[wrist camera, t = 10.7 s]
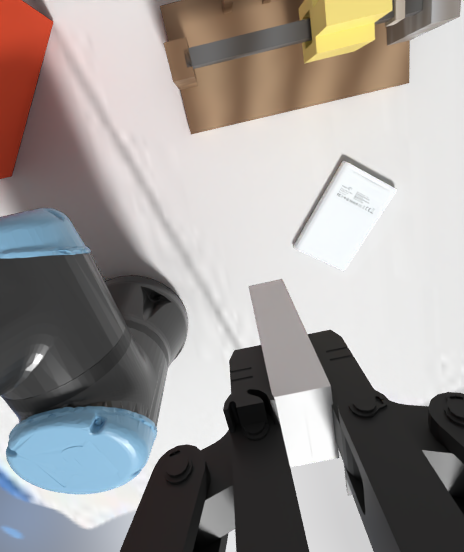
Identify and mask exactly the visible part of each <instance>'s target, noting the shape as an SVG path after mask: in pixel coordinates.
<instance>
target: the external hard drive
mask: <svg viewBox="0 0 464 552" xmlns="http://www.w3.org/2000/svg"><path fill="white" fill-rule="evenodd" d="M396 191H397V189H396V188H394V187H392V186H390V185H388V184H387V183H385V182H383V181H381V180H379V179H377V178H375V177H374V176H372V175H370V174H368V173H366V172H365V171H363V170H361V169H359V168H357V167H356V166H354V165H352V164H350V163H348V162H346V161H342V163H341V164H340V166H339V168H338V170H337V171H336V173H335V175H334V176H333V178H332V180H331V182H330V183H329V185H328V187H327V189H326V190H325V192H324V194H323V195H322V197H321V199H320V201H319V202H318V204H317V206H316V208H315V209H314V211H313V213H312V215H311V216H310V218H309V220H308V222H307V223H306V225H305V227H304V229H303V230H302V232H301V234H300V235H299V237H298V239H297V241H296V243H295V244H294V246H293V247H294V248H295V249H296V250H298V251H300V252H303V253H305V254H307V255H309V256H311V257H313V258H316V259H318V260H320V261H322V262H324V263H326V264H329V265H331V266H333V267H335V268H337V269H339V270H342V271H345V269H346V268H347V266H348V265H349V263H350V262H351V260H352V259H353V257H354V256H355V254H356V253H357V251H358V249H359V248H360V246H361V245H362V243H363V242H364V240H365V239H366V237H367V236H368V234H369V233H370V231H371V230H372V228H373V227H374V225H375V223H376V222H377V220H378V219H379V217H380V216H381V214H382V213H383V211H384V210H385V208H386V207H387V205H388V204H389V202H390V200H391V199H392V197H393V196H394V194H395V193H396Z"/></svg>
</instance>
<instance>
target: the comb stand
mask: <svg viewBox="0 0 464 552" xmlns="http://www.w3.org/2000/svg"><path fill="white" fill-rule="evenodd" d="M303 1H304V0H181V1H177V2H173V3H169V4H166V5H162V6H160V9H161V13H162V17H163V21H164V25H165V29H166V33H167V37H168V42H165V43H164V46H165V50H166V54H167V58H168V62H169V66H170V70H171V74H172V78H173V82H174V83H175V84H176V86H177V87H178V88H179V89H180V91H181V95H182V99H183V103H184V107H185V111H186V115H187V120H188V124H189V128H190V132H191V134H195V133H199V132H203V131H207V130H212V129H216V128H220V127H224V126H229V125H233V124H237V123H241V122H246V121H250V120H254V119H258V118H263V117H267V116H271V115H275V114H280V113H284V112H288V111H292V110H297V109H301V108H305V107H309V106H314V105H318V104H322V103H326V102H330V101H335V100H339V99H343V98H347V97H352V96H356V95H360V94H364V93H369V92H373V91H377V90H381V89H386V88H390V87H394V86H398V85H403V84H407V83H409V41H410V40H411V39H414V38H416V37H418V36H420V35H422V34H424V33H426V32H428V31H430V30H433V29H435V28H437V27H439V26H441V25H443V24H445V23H447V22H449V21H452V20H454V19H456V18H458V17H460V5H461V0H392V11H391V12H389V13H388V14H386V15H385V16H383V17H382V18H380V19H379V20H378V21H376V22H375V40H373V41H372V42H370V43H368V44H367V45H365V46H363V47H361V48H360V49H358V50H356V51H354V52H350V53H346V54H342V55H337V56H333V57H329V58H325V59H321V60H317V61H313V62H308V63H304V57H303V47H302V43H303V42H307V41H311V40H312V32H311V21H310V18H308V19H304V20H300V18H299V7H300V6H301V4H302V3H303Z"/></svg>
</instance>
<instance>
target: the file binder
mask: <svg viewBox="0 0 464 552" xmlns="http://www.w3.org/2000/svg"><path fill="white" fill-rule="evenodd" d="M52 25H53V21H51V20H50V19H48V18H47V17H45V16H44V15H42V14H41V13H40V12H38V11H37V10H35V9H34V8H32V7H31V6H29V5H28V4H26V3H25V2H23V1H22V0H0V179H2V178H7V177H11V176H12V173H13V169H14V166H15V162H16V158H17V154H18V151H19V147H20V143H21V140H22V136H23V132H24V129H25V125H26V121H27V117H28V114H29V110H30V106H31V103H32V99H33V95H34V92H35V88H36V84H37V80H38V77H39V73H40V69H41V66H42V62H43V58H44V55H45V51H46V47H47V43H48V40H49V36H50V32H51V29H52Z"/></svg>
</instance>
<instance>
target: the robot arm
mask: <svg viewBox="0 0 464 552" xmlns="http://www.w3.org/2000/svg"><path fill="white" fill-rule="evenodd" d="M90 252H91V250H90V249H89V247H86V246H85V244H84V243H83V241H82V240H81V238H80V236H79V234H78V233H77V231H76V229H75V228H74V226H73V224H72V222H71V221H70V219H69V218H68V217H67V216H66V215H65V214H63V213H62V212H60V211H58V210H55V209H52V208H40V209H34V210H30V211H25V212H20V213H16V214H11V215H7V216H3V217H0V396H1V397H2V398H3V399H4V400H5V401H6V403H7V404H8V405H9V407H10V408H11V409H12V410H13V412H14V413H15V414H16V416H17V417H18V419H19V424H17V425H16V426H15V427H14V428H13V430H12V431H11V433H10V435H9V442H8V447H7V449H6V457H7V461H8V463H9V465H10V466H11V468H12V469H13V471H14V472H15V473H16V474H17V475H19V476H20V477H21V478H22V479H24V480H25V481H27V482H29V483H31V484H33V485H35V486H38V487H40V488H43V489H46V490H50V491H54V492H61V493H67V494H92V493H99V492H104V491H108V490H111V489H114V488H117V487H120V486H122V485H124V484H126V483H127V482H129V481H131V480H132V479H133V478H134V477H136V476H137V475H138V474H139V473H140V471H141V470H142V468H143V467H144V466H145V464H146V463H147V460H148V458H149V455H150V452H151V449H152V446H153V442H154V440H155V438H156V435H157V428H156V427H157V422H158V416H159V411H160V406H161V401H162V396H163V391H164V385H165V380H166V375H167V370H168V367H169V365H170V364H171V363H172V361H173V360H174V359H175V358H176V357H177V356H178V355H179V353H180V352H181V350H182V348H183V346H184V344H185V341H186V337H187V330H188V317H187V313H186V310H185V307H184V305H183V304H182V302H181V300H180V299H179V298H178V296H177V295H176V294H175V293H174V292H173V291H172V290H170V289H169V288H168V287H166V286H165V285H163V284H162V283H160V282H158V281H155V280H153V279H150V278H146V277H141V276H122V277H117V278H114V279H111V280H109V281H106V282H104V280H103V278H102V276H101V274H100V272H99V270H98V268H97V266H96V264H95V262H94V260H93V258H92V256H91V254H90ZM249 291H250V295H251V300H252V305H253V309H254V314H255V318H256V323H257V328H258V332H259V337H260V342H261V345H259V346H254V347H249V348H244V349H239V350H234V352H233V354H232V356H231V358H230V360H229V363H230V379H231V395H230V396H229V397H228V398H227V400H226V401H225V404H224V409H223V411H224V414H225V418H226V421H227V424H228V427H229V430H228V432H227V433H226V434H225V435H224V436H223V437H222V438H221V439H220V440H219V441H217V442H216V443H214V444H212V445H210V446H208V447H206V448H205V449H203V450H201V451H200V450H199V449H198V448H197V447H196V446H192V445H181V446H176V447H175V448H173V449H171V450H169V451H167V452H166V453H165V454H164V455H163V456H162V457H161V458H160V459H159V461H158V462H157V464H156V466H155V467H154V470H153V472H152V474H151V477H150V479H149V482H148V484H147V487H146V489H145V491H144V494H143V496H142V499H141V501H140V504H139V506H138V508H137V511H136V514H135V516H134V518H133V521H132V523H131V526H130V528H129V530H128V533H127V535H126V538H125V540H124V543H123V545H122V547H121V550H120V552H225V550H226V544H227V538H228V533H229V532H230V531H232V530H234V529H235V532H236V551H237V552H309V549H308V544H307V540H306V536H305V531H304V527H303V522H302V518H301V514H300V509H299V504H298V500H297V496H296V491H295V487H294V482H293V478H292V474H291V469H290V467H293V466H299V465H304V464H310V463H315V462H320V461H325V460H331V459H336V458H339V452H338V449H339V451H340V454H341V456H342V459H343V462H344V468H345V477H346V487H347V493H348V495H353V497H354V500H355V503H356V505H357V508H358V511H359V514H360V516H361V519H362V521H363V524H364V527H365V530H366V532H367V535H368V537H369V540H370V543H371V545H372V548H373V551H374V552H464V394H462V393H452V392H447V393H442V394H438V395H437V396H435V397H434V398H433V399H431V401H430V404H429V407H428V406H414V405H404V404H398V403H395V402H392V401H389V400H388V399H387V398H386V397H385V396H384V395H383V394H381V393H380V392H378V391H376V390H374V388H373V387H372V386H371V384H370V382H369V381H368V379H367V377H366V376H365V374H364V373H363V371H362V369H361V368H360V366H359V365H358V363H357V361H356V360H355V358H354V357H353V355H352V353H351V352H350V350H349V349H348V347H347V345H346V343H345V342H344V340H343V339H342V337H341V336H339V335H338V334H336V333H335V332H333V331H332V330H327V331H322V332H317V333H312V334H307V332H306V330H305V328H304V326H303V324H302V321H301V319H300V317H299V315H298V313H297V311H296V308H295V306H294V304H293V302H292V300H291V297H290V295H289V293H288V291H287V289H286V286H285V284H284V282H283V280H282V279H280V280H275V281H271V282H266V283H261V284H256V285H252V286H249Z"/></svg>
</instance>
